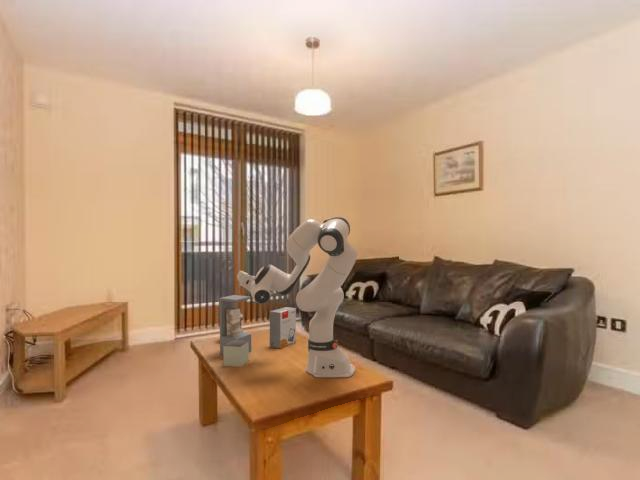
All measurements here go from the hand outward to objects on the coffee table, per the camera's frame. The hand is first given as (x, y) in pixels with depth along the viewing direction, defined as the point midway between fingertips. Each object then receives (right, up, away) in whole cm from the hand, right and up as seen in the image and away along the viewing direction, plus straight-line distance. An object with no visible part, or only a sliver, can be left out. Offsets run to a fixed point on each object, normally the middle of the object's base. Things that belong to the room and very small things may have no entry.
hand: (254, 278), depth 190 cm
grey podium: (-10, -40, +2) cm, 42 cm away
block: (-12, -31, +3) cm, 33 cm away
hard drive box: (+13, -40, +16) cm, 45 cm away
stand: (-7, -40, -13) cm, 43 cm away
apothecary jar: (-17, -40, +25) cm, 50 cm away
